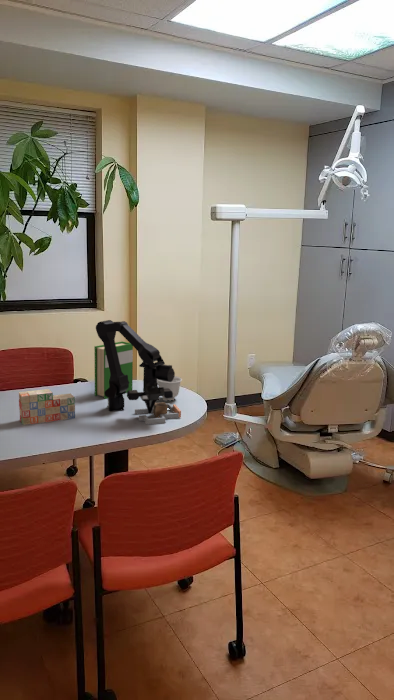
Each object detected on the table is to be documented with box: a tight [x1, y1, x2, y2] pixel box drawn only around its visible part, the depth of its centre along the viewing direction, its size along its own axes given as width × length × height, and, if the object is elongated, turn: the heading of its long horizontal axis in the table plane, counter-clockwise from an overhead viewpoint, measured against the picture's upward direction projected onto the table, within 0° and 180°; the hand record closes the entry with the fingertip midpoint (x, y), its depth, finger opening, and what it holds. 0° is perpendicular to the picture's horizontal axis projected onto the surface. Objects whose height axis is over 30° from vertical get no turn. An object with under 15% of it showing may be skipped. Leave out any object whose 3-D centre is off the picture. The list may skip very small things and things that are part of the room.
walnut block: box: [152, 401, 168, 418], centre depth 233 cm, size 5×5×5 cm
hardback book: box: [93, 340, 134, 400], centre depth 261 cm, size 18×7×24 cm, turn 141°
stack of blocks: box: [18, 388, 76, 426], centre depth 224 cm, size 21×6×12 cm, turn 118°
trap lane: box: [134, 403, 182, 425], centre depth 233 cm, size 18×19×3 cm
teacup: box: [157, 375, 183, 401], centre depth 257 cm, size 12×15×10 cm
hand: (149, 413), depth 232 cm, fingers closed
